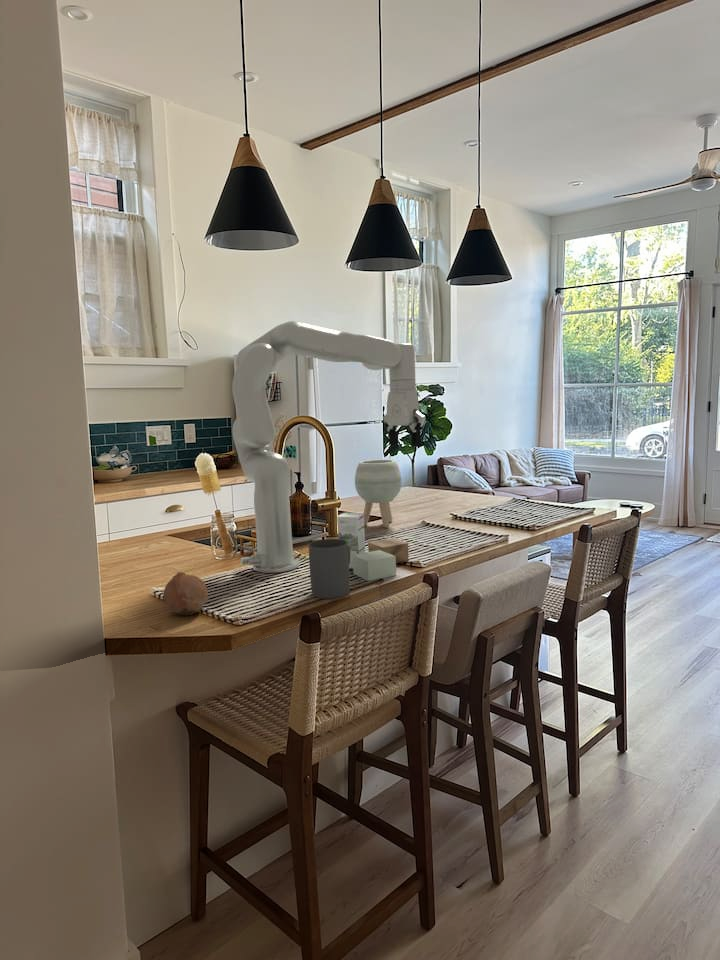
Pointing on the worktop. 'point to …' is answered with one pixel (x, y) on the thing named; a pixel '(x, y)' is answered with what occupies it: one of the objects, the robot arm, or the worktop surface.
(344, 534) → the syrup box
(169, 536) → the worktop surface
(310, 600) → the worktop surface
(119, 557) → the worktop surface
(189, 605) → the onion
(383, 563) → the sage block
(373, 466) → the planter
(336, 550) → the mug
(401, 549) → the walnut block
